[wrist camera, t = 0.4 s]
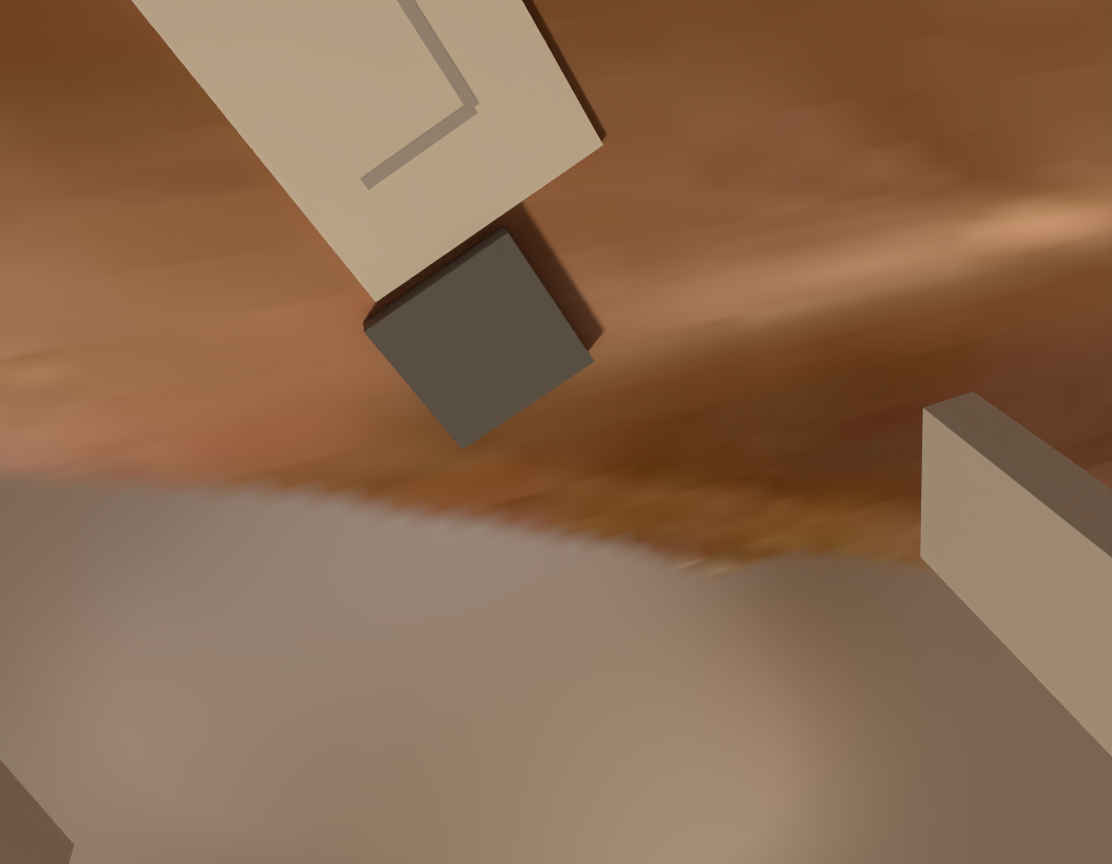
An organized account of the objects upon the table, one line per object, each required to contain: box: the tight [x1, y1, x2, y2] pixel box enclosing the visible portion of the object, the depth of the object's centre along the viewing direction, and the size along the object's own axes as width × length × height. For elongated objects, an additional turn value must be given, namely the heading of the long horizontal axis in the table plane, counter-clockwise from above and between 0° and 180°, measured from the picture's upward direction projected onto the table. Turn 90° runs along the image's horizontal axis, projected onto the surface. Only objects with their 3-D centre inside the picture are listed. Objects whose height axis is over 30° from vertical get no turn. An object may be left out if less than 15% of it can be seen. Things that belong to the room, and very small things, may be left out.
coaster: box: [363, 226, 594, 449], centre depth 37 cm, size 7×7×1 cm
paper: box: [132, 0, 603, 302], centre depth 31 cm, size 16×11×1 cm
